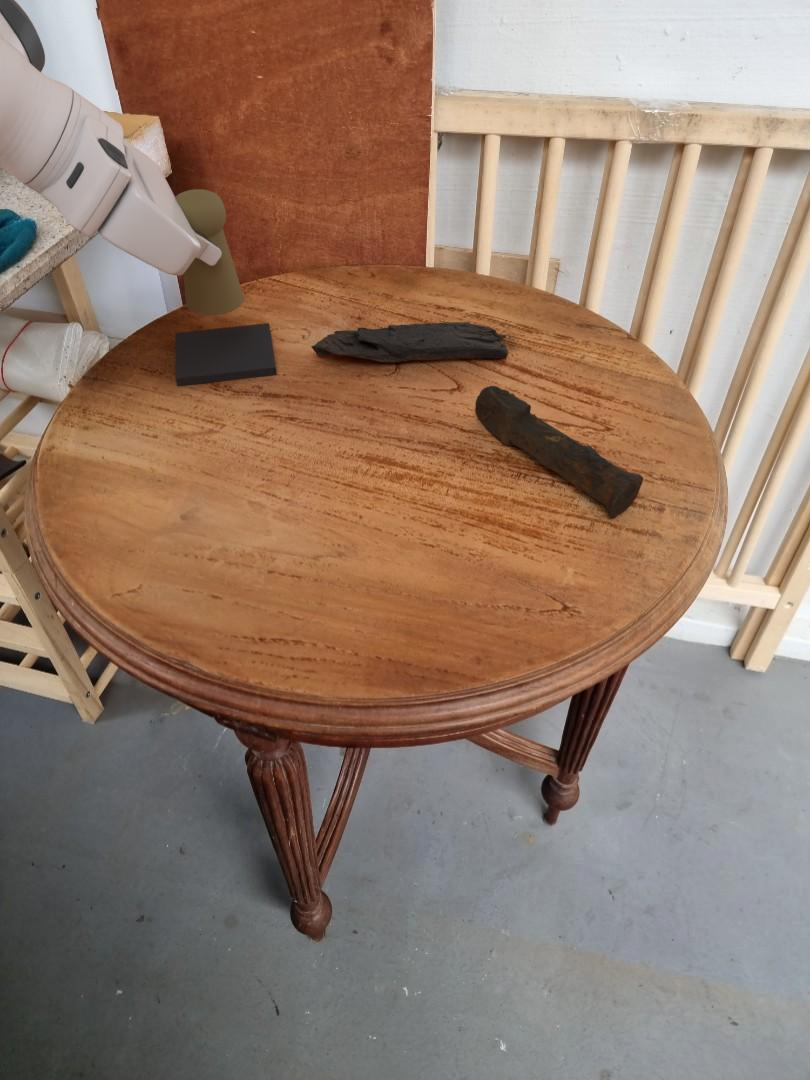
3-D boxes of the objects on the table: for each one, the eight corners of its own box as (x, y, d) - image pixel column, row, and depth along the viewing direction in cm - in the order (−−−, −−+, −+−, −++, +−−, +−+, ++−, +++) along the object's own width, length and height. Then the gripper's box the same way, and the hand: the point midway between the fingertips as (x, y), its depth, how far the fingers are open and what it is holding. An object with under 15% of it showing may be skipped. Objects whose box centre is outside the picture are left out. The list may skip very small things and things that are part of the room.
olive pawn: (177, 312, 80) (152, 206, 72) (197, 283, 84) (176, 179, 76) (233, 318, 79) (214, 211, 71) (251, 288, 83) (235, 184, 75)
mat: (177, 386, 83) (175, 378, 82) (177, 340, 89) (175, 332, 88) (277, 374, 84) (275, 367, 83) (270, 330, 90) (269, 322, 89)
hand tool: (639, 505, 71) (652, 466, 67) (611, 525, 69) (621, 486, 65) (495, 406, 81) (499, 369, 77) (466, 421, 79) (469, 383, 75)
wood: (501, 325, 91) (503, 301, 89) (512, 361, 86) (515, 337, 84) (311, 335, 90) (309, 311, 87) (312, 372, 85) (310, 348, 82)
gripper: (47, 145, 75) (170, 226, 85) (75, 237, 62) (216, 320, 72) (81, 88, 73) (203, 178, 83) (117, 171, 60) (256, 265, 70)
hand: (210, 245), depth 77 cm, fingers closed on olive pawn, 4 cm apart
